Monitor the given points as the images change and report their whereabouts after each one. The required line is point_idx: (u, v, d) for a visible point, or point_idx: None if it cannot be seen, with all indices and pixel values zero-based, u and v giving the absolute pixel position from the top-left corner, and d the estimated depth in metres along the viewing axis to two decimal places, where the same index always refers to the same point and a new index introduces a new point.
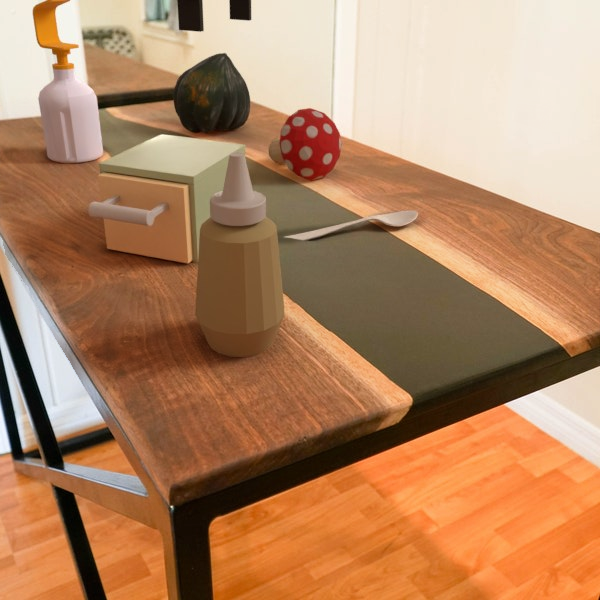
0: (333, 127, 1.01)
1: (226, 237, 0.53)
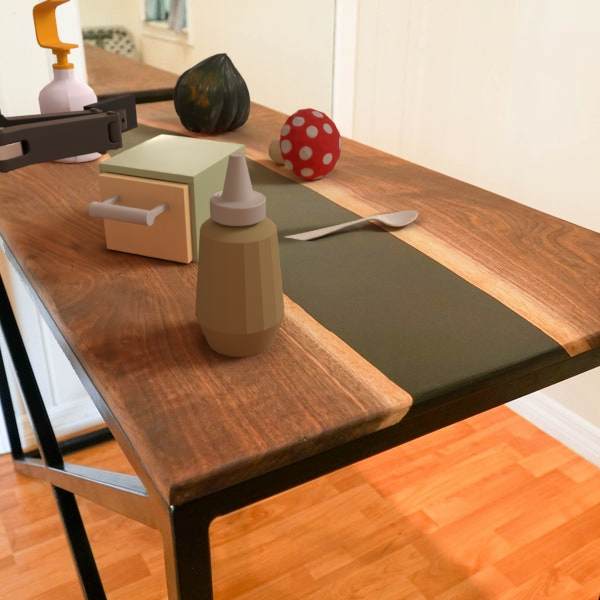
0: (333, 127, 1.01)
1: (226, 237, 0.53)
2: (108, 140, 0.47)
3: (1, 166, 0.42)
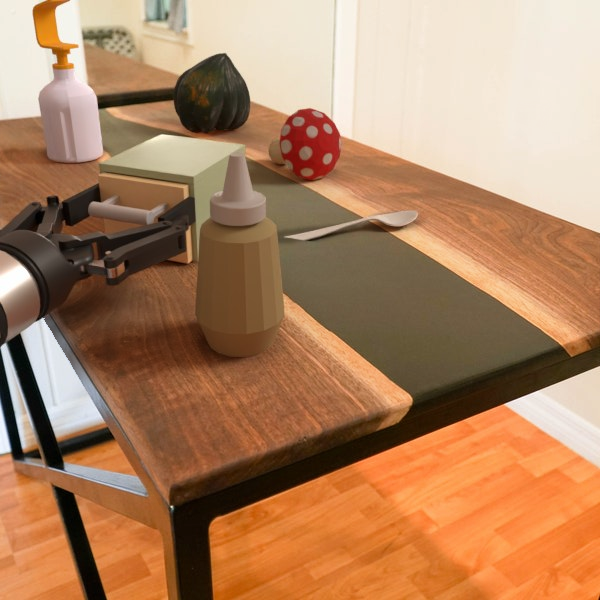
0: (333, 127, 1.01)
1: (226, 237, 0.53)
2: (177, 247, 0.64)
3: (112, 281, 0.58)
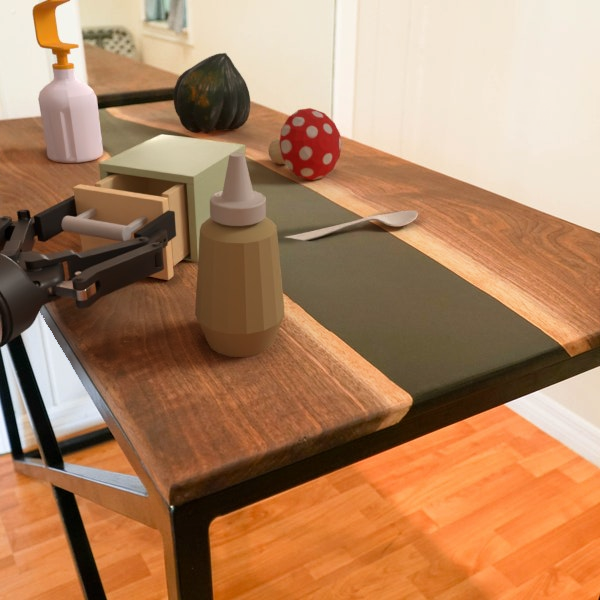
0: (333, 127, 1.01)
1: (226, 237, 0.53)
2: (154, 266, 0.60)
3: (82, 304, 0.54)
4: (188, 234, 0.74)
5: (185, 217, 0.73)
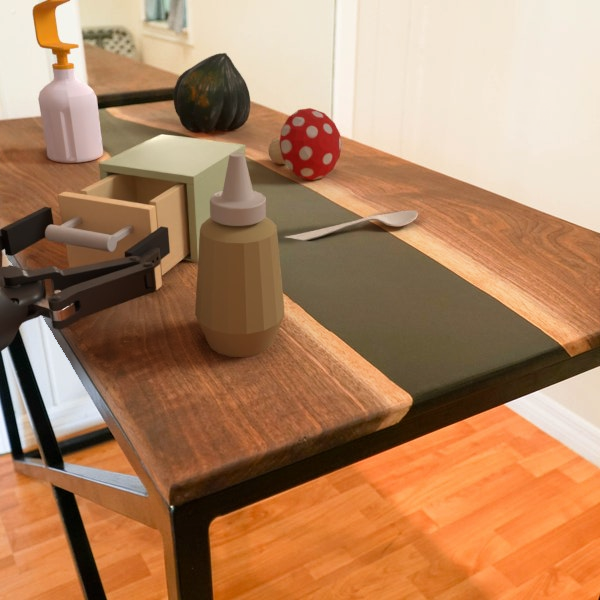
0: (333, 127, 1.01)
1: (226, 237, 0.53)
2: (144, 286, 0.57)
3: (58, 325, 0.52)
4: (177, 242, 0.72)
5: (173, 225, 0.71)
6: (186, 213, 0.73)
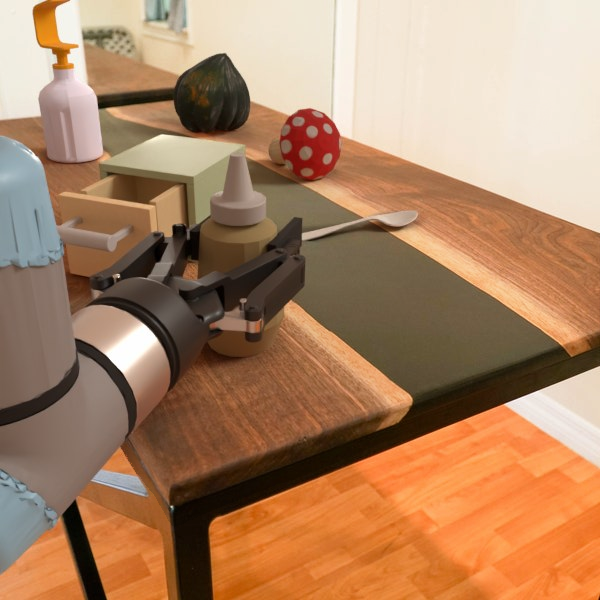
0: (333, 127, 1.01)
1: (227, 237, 0.53)
2: (298, 282, 0.52)
3: (257, 337, 0.45)
4: None
5: None
6: (186, 213, 0.73)
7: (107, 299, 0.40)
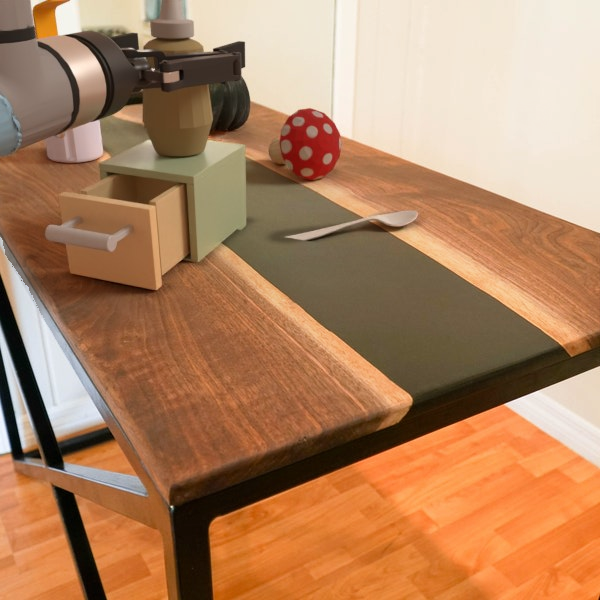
0: (333, 127, 1.01)
1: (162, 46, 0.70)
2: (232, 73, 0.66)
3: (167, 87, 0.60)
4: (177, 242, 0.72)
5: (173, 225, 0.71)
6: (186, 213, 0.73)
7: None
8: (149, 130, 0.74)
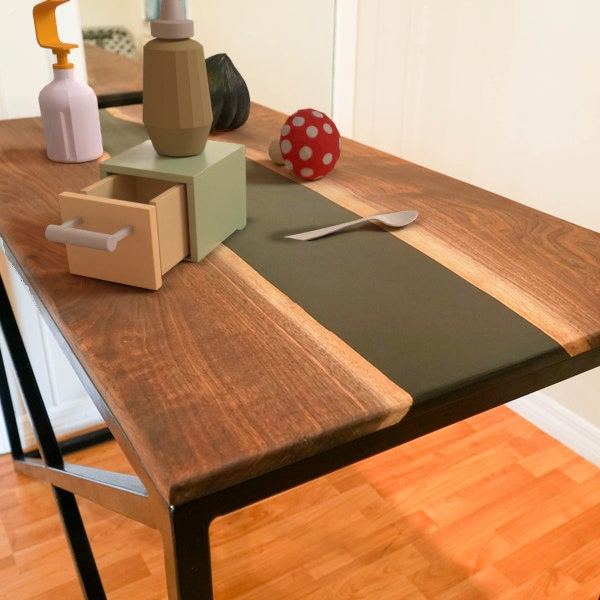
0: (333, 127, 1.01)
1: (162, 46, 0.70)
2: None
3: None
4: (177, 242, 0.72)
5: (173, 225, 0.71)
6: (186, 213, 0.73)
7: None
8: (149, 130, 0.74)
